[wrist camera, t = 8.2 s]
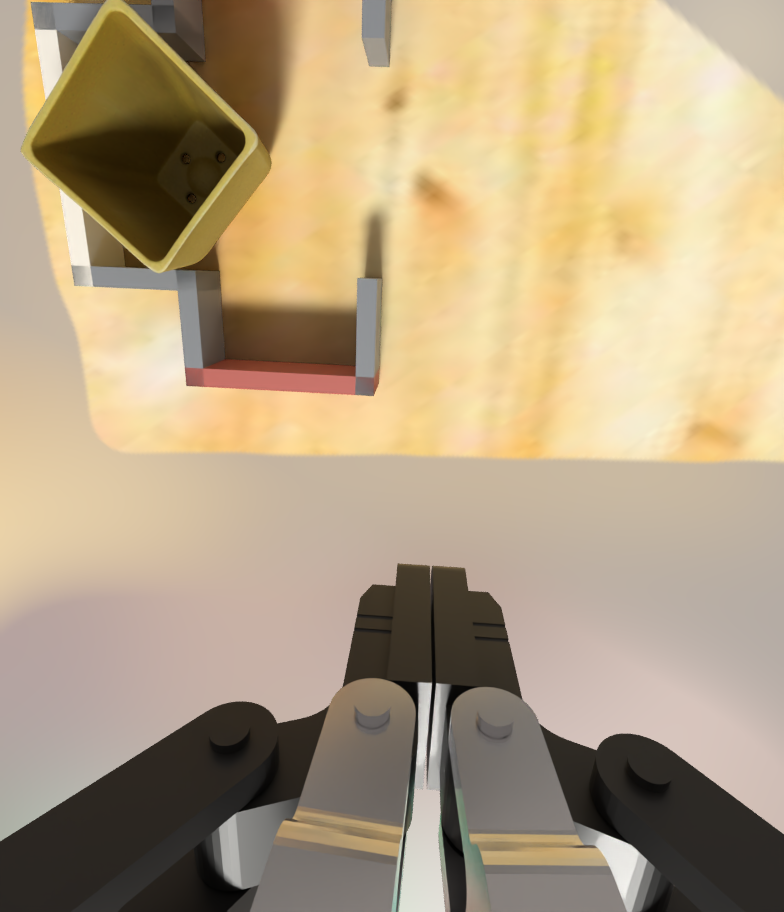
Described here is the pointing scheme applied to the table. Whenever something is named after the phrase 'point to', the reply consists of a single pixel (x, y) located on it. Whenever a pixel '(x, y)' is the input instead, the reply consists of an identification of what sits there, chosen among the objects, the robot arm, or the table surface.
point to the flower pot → (145, 143)
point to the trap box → (200, 290)
